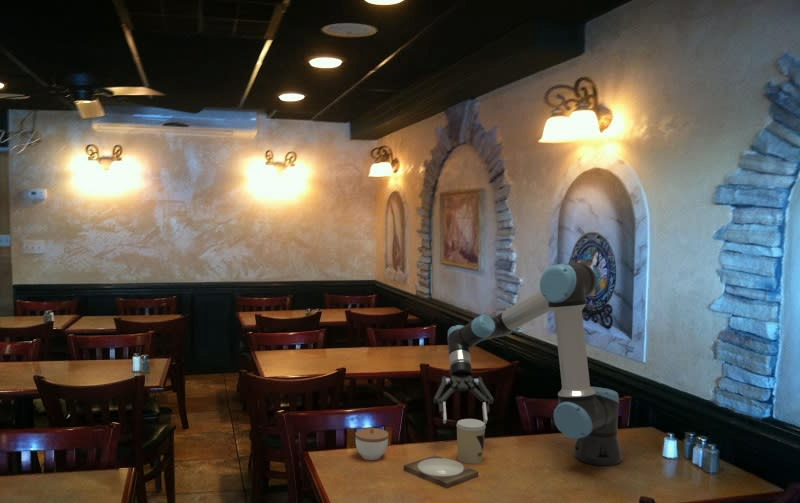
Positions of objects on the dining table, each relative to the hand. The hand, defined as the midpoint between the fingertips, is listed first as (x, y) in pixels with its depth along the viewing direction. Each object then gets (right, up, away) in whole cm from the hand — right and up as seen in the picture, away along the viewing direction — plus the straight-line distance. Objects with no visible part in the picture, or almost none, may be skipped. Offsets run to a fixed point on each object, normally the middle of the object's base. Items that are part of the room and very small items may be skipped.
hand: (465, 421), depth 231 cm
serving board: (-9, -11, -18) cm, 23 cm away
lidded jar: (-31, -10, -5) cm, 33 cm away
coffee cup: (+1, -11, -5) cm, 12 cm away
